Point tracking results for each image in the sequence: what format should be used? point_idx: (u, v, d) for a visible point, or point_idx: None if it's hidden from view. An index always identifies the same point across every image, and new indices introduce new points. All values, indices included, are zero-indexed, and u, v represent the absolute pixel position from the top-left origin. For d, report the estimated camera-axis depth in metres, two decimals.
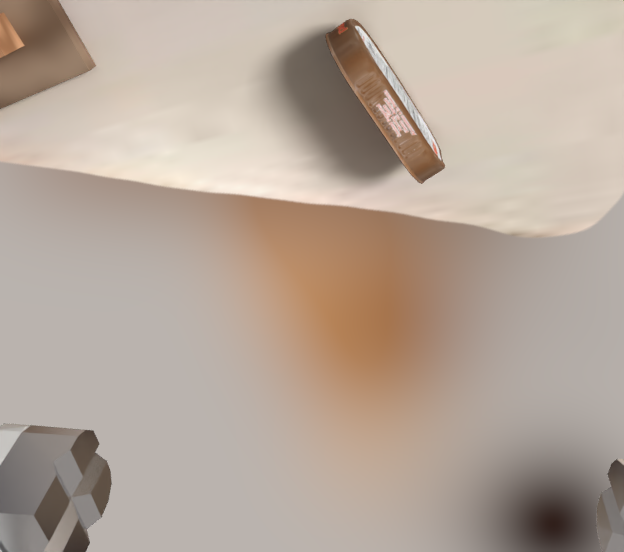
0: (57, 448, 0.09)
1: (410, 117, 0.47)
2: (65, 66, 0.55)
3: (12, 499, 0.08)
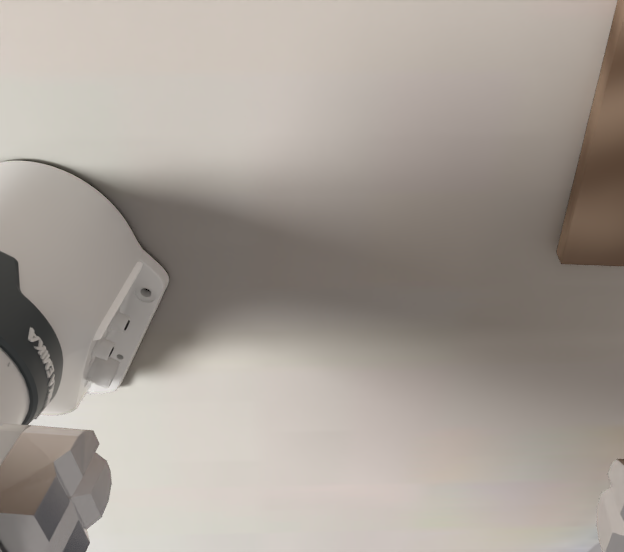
0: (57, 448, 0.09)
1: None
2: None
3: (12, 499, 0.08)
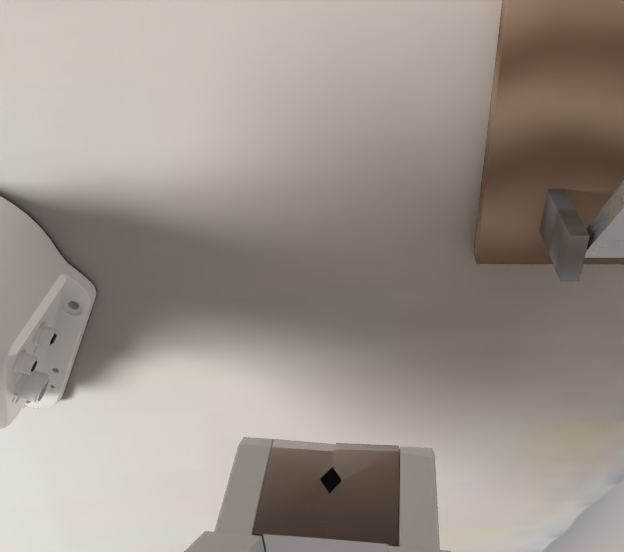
0: (317, 464, 0.09)
1: None
2: None
3: (291, 520, 0.08)
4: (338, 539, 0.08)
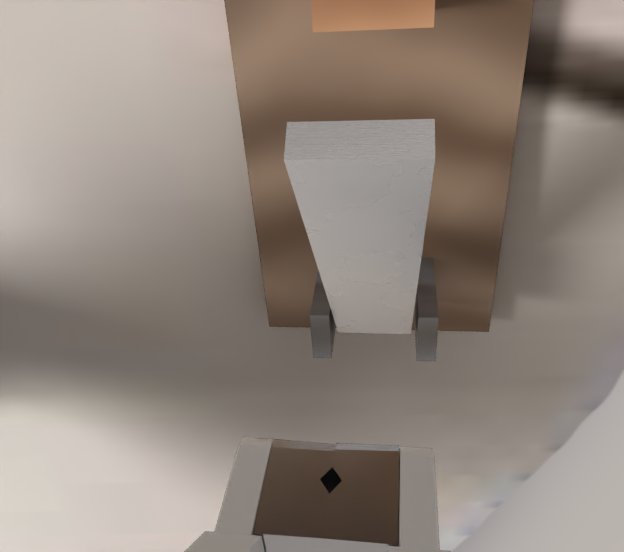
0: (317, 464, 0.09)
1: None
2: None
3: (291, 520, 0.08)
4: (338, 539, 0.08)
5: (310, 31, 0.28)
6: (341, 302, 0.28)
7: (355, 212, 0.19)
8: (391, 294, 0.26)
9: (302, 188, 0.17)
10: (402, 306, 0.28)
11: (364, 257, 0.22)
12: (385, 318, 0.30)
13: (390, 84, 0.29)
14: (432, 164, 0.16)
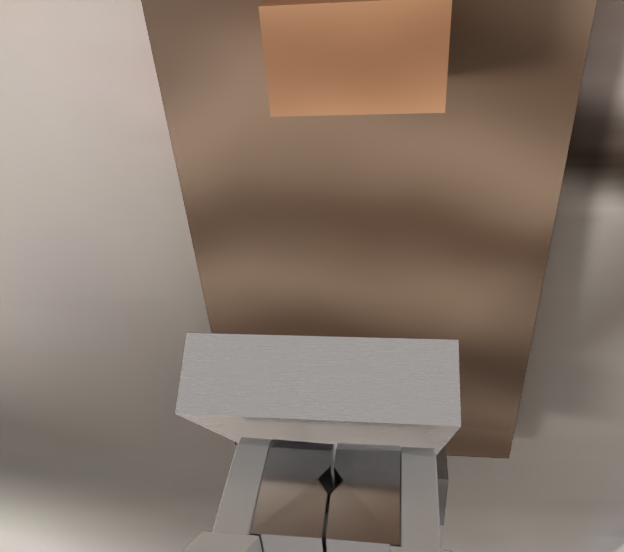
0: (315, 464, 0.09)
1: None
2: None
3: (289, 520, 0.08)
4: (340, 539, 0.08)
5: None
6: None
7: None
8: None
9: (222, 429, 0.10)
10: None
11: None
12: None
13: (383, 171, 0.22)
14: (454, 429, 0.08)
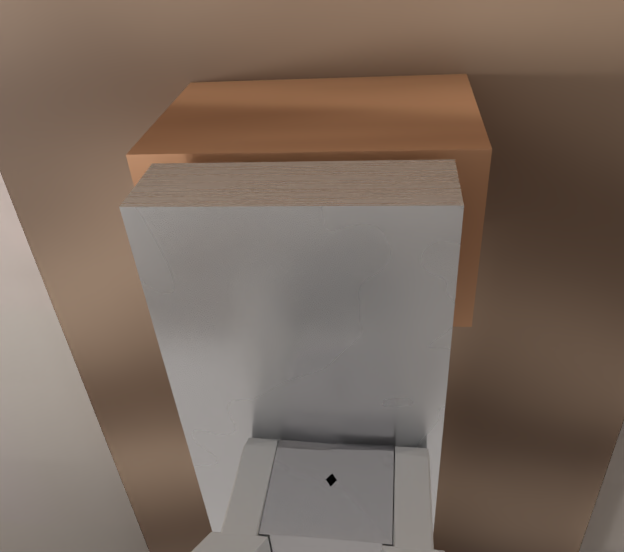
0: (323, 465, 0.09)
1: None
2: None
3: (298, 521, 0.08)
4: (332, 538, 0.08)
5: None
6: None
7: (289, 400, 0.09)
8: None
9: (169, 312, 0.08)
10: None
11: None
12: None
13: None
14: (457, 229, 0.07)
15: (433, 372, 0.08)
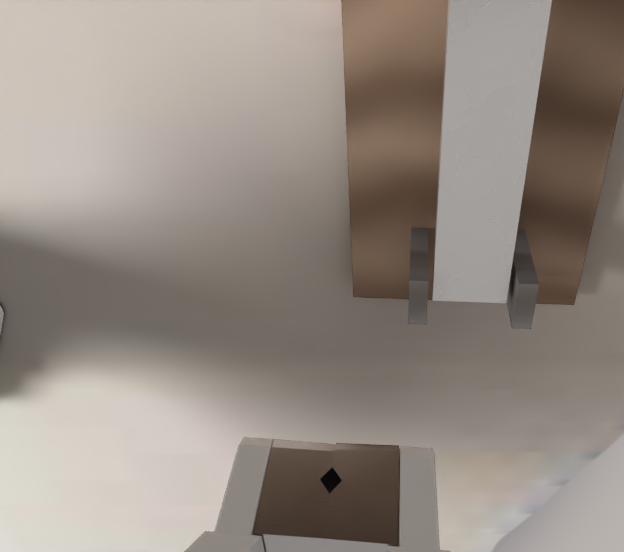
0: (317, 464, 0.09)
1: None
2: None
3: (291, 520, 0.08)
4: (338, 539, 0.08)
5: None
6: (449, 214, 0.30)
7: (493, 8, 0.24)
8: (500, 188, 0.29)
9: None
10: (506, 220, 0.30)
11: (487, 101, 0.26)
12: (486, 256, 0.31)
13: None
14: None
15: None
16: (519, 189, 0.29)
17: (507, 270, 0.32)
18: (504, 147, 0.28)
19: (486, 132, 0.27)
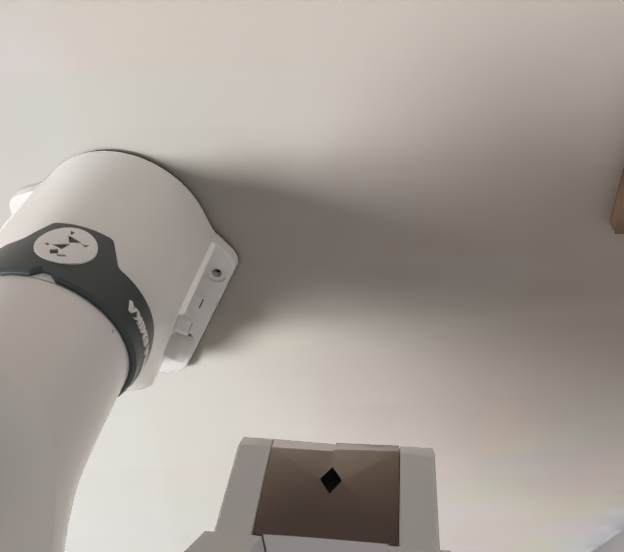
0: (317, 464, 0.09)
1: None
2: None
3: (291, 520, 0.08)
4: (338, 539, 0.08)
5: None
6: None
7: None
8: None
9: None
10: None
11: None
12: None
13: None
14: None
15: None
16: None
17: None
18: None
19: None
